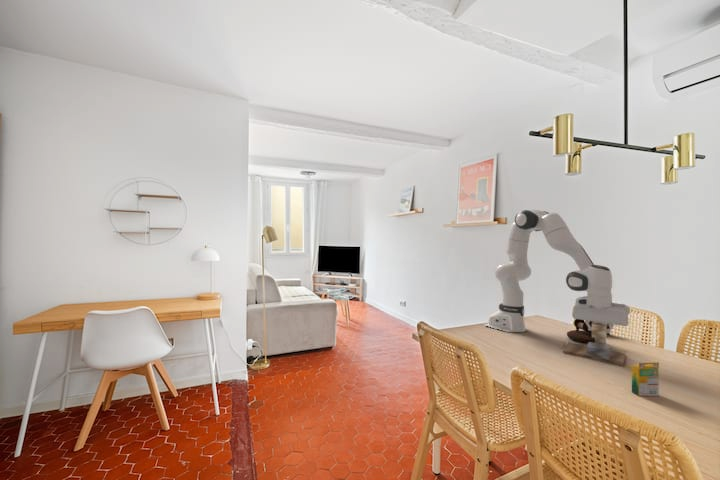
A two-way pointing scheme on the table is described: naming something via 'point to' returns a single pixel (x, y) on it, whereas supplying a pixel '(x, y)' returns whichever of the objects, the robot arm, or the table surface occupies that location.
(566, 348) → the building board
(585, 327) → the dark brown rounded figure
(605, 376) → the table surface
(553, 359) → the table surface
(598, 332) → the maple block
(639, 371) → the crayon box
